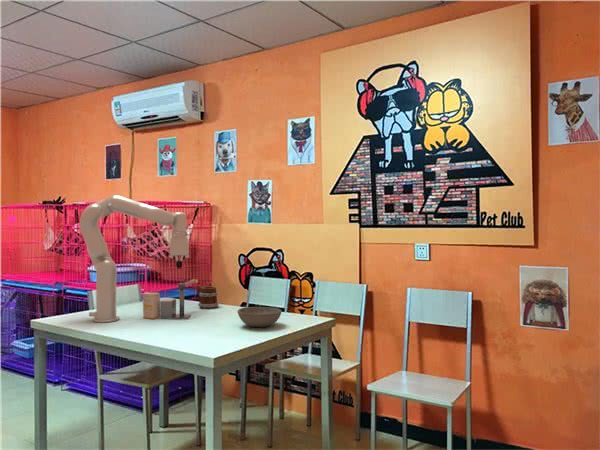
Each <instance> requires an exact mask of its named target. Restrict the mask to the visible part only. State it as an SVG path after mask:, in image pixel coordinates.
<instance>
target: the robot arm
mask: <svg viewBox="0 0 600 450" xmlns="http://www.w3.org/2000/svg"><path fill="white" fill-rule="evenodd" d="M116 212H117V213H118V214H123V215H126V216H129V217H133V218H135V219H139V220H145V221H151V222H154V223H157V224H158V225H160V226H163V227H166V226H167V227H169V226H171V236H172V237H170V241H169V256H168V258H170V259H174V261H175V263H176V264H175V266H176V268H177V269H181V268H182V267H183V261H184V260H185V259H188V258H190V247H189V246H190V244H189V237H188V236H189V235H190V233H189V232H188V231H187V214H186V213H185V212H182V211H181V212H178V211H177V212H176V211H175V212H170V211H168V210H164V209H162V208H159V207H156V206H152V205H149V204H148V203H144V202H140V201H138V200H134V199H131V198H128V197H126V196H122V195H118V194H112V195H111V196H108V197H106V198H104V199H102V200H99V201H97V202H94V203H90V204H89V205H87V206H86V208H85V209H84V210H83V211H82V213H81V215H80V217H79V218H80V219H79V228H80V233H81V234H82V237H83V240H84V243H85V244H86V251H87V254H88V256H89V258H90V261H91V263H92V265H93V267H94V270H95V278H96V279H95V291H96V292H95V295H96V297H95V298H96V299H95V300H96V304H95V305H96V306H95V307H96V309H95V311H93V312H91V311H90V312H89V313H88V316H89V317H93V319H92V321H93V322H94V323H111V322H117V321H119V320H120V318H121V317H120V316H118V315H117V275H118V274H117V272H118V269H117V263H115V261H114V260H113V258H112V257H111V254H110V251H109V249H108V244H107V242H106V240H105V239H104V236H103V233H102V232H101V229H100V227H99V221H100V220H101V219H102V218H105V217H107V216H110V215H112V214H114V213H116ZM178 256H179V257H180V259H179V257H178Z"/></svg>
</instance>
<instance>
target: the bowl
mask: <svg viewBox="0 0 600 450" xmlns="http://www.w3.org/2000/svg"><path fill="white" fill-rule="evenodd" d="M282 313H283V311H282V309H280V308H277V307H268V306H245V307H242V308H241V307H240V308H239V309H238V310H237V314H238V317H239V319H240V321H241V322H243V323H244V324H245V325H247V326H249V327H253V328H254V327H255V328H265V327H269V326H271V325H272V326H273V324H275V323H276V322H277V321H278V320H279V319H280V317H281V315H282Z"/></svg>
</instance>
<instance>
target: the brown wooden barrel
mask: <svg viewBox="0 0 600 450" xmlns="http://www.w3.org/2000/svg"><path fill="white" fill-rule="evenodd" d="M196 293H197V298H198V304H197V305H198V307H199V309H201V310H214V309H218V306H219V301H218V298H217V297H218V294H219V293H218V292H217V287H216V286H202V285H201V284H197V291H196Z"/></svg>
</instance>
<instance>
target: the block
mask: <svg viewBox="0 0 600 450" xmlns="http://www.w3.org/2000/svg"><path fill="white" fill-rule="evenodd" d="M176 314H177V299H176V298H164V299H162V300H160V318H159V320H173V319H172V317H174V316H175V315H176Z"/></svg>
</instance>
